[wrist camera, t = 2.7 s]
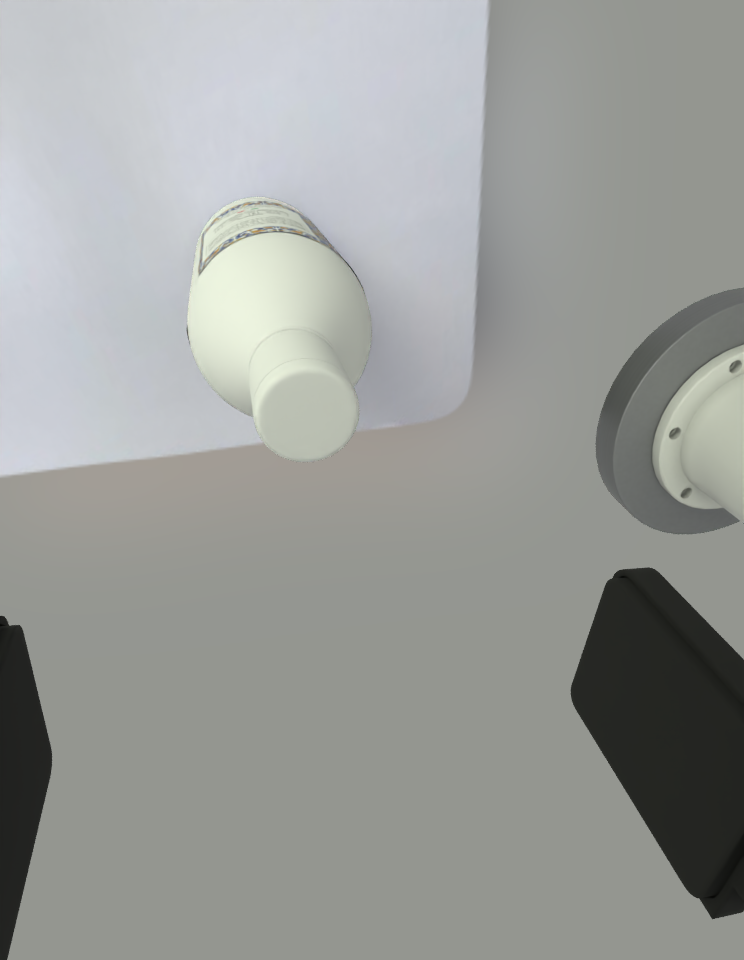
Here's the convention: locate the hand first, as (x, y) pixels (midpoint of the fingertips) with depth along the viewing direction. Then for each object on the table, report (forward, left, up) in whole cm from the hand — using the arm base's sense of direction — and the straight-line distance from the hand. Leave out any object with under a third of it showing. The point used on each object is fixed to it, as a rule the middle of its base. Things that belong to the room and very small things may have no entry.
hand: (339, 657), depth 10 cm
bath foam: (-1, 0, -29) cm, 29 cm away
